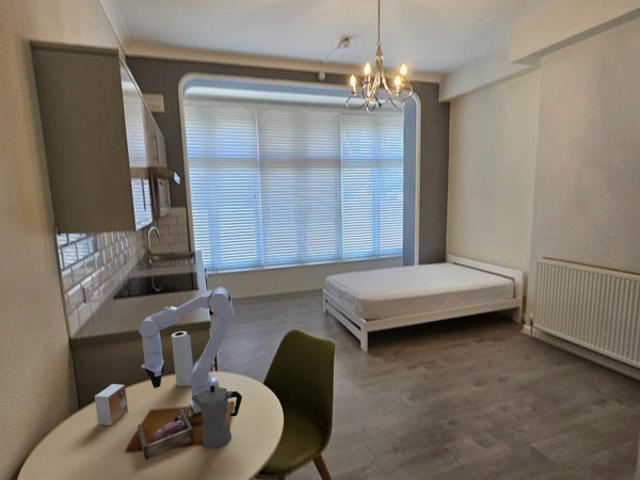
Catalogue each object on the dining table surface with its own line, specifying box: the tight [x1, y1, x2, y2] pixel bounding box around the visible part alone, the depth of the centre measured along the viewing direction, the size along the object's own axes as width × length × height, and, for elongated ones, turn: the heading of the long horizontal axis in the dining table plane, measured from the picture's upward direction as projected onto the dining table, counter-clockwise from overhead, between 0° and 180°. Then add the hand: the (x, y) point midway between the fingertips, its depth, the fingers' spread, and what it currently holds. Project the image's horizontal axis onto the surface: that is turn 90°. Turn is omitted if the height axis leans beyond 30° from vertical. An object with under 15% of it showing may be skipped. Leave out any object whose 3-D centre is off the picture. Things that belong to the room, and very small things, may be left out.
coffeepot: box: [191, 385, 243, 450], centre depth 109 cm, size 15×9×18 cm, turn 94°
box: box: [137, 408, 195, 461], centre depth 112 cm, size 14×13×4 cm
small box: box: [94, 383, 129, 426], centre depth 123 cm, size 8×6×10 cm
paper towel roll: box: [171, 330, 194, 387], centre depth 143 cm, size 7×6×21 cm
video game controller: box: [150, 419, 185, 443], centre depth 111 cm, size 10×5×7 cm, turn 134°
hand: (156, 386), depth 125 cm, fingers closed
